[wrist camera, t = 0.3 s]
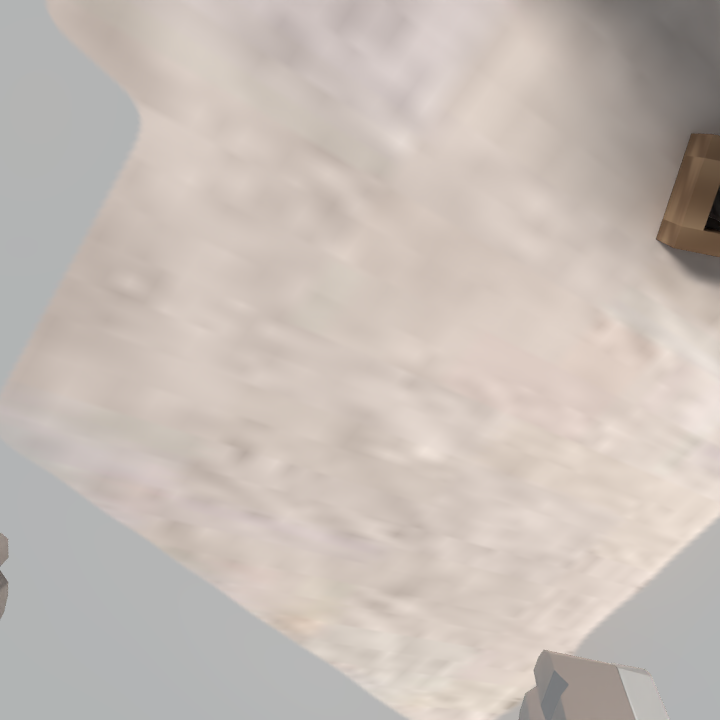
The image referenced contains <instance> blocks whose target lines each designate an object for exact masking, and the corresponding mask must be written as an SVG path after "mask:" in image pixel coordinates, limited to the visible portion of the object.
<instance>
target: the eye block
mask: <svg viewBox="0 0 720 720" xmlns="http://www.w3.org/2000/svg"><path fill="white" fill-rule="evenodd" d="M719 185H720V136H719V135H714V134H694V133H691V136H690V139H689V142H688V145H687V148H686V151H685V154H684V157H683V160H682V163H681V166H680V169H679V172H678V175H677V178H676V181H675V184H674V187H673V190H672V193H671V196H670V199H669V202H668V205H667V208H666V211H665V214H664V217H663V220H662V223H661V226H660V229H659V232H658V235H657V238H656V239H657V240H659V241H661V242H663V243H665V244H667V245H669V246H671V247H673V248H676V249H681V250H686V251H691V252H696V253H701V254H706V255H711V256H716V257H720V230H716V229H711V228H706V227H705V225H706V222H707V219H708V216H709V213H710V210H711V208H712V205H713V202H714V199H715V196H716V194H717V191H718V188H719Z"/></svg>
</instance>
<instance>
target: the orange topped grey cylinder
mask: <svg viewBox="0 0 720 720" xmlns="http://www.w3.org/2000/svg"><path fill="white" fill-rule="evenodd" d="M709 217H711V218H712V219H715V220H718V221H720V185H719V188H718V191H717V194H716V196H715V199H714V202H713V205H712V208H711V210H710V213H709Z"/></svg>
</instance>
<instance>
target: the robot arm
mask: <svg viewBox="0 0 720 720" xmlns="http://www.w3.org/2000/svg"><path fill="white" fill-rule="evenodd" d="M7 559H8V539H7V538H6V537H5V536H4V535H3V534H1V533H0V566H1V565H2V564H3V563H4V562H5V561H6V560H7ZM7 597H8V581H7V580H6V578H5V577H4V575H3V574H2V572H1V571H0V619H1V617H2V615H3V613H4V610H5V606H6V601H7ZM534 674H535V679H536V685H537V686H536V687H534V688H533V689H531V690H530V691H528V692H527V693H525V696H524V700H523V703H522V706H521V709H520V714H519V720H670V719H669V716H668V714H667V711H666V709H665V707H664V704H663V702H662V700H661V697H660V695H659V692H658V690H657V688H656V685H655V683H654V681H653V678H652V676H651V675H650V673H649V672H648V671H646V670H645V669H641V668H636V667H631V666H625V665H620V664H615V663H611V664H609V663H605V662H601V661H596V660H591V659H586V658H581V657H577V656H572V655H567V654H562V653H557V652H553V651H548V650H543V652H542V653H541V654H540V656H539V657H538V660H537V663H536V665H535V668H534Z"/></svg>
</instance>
